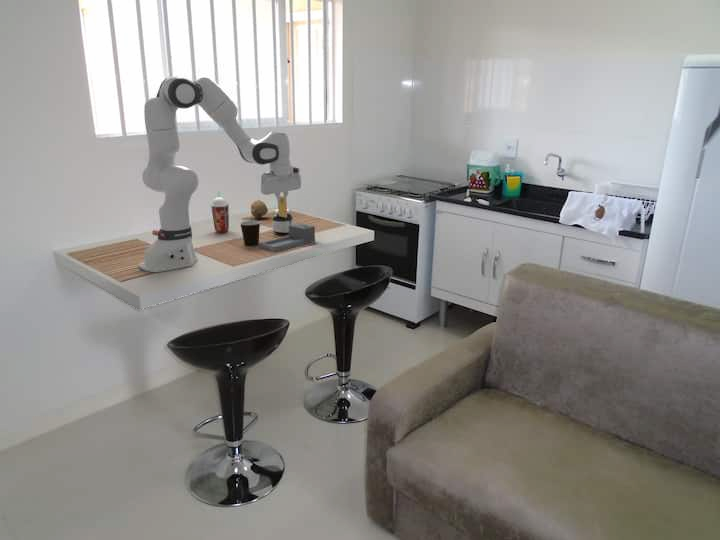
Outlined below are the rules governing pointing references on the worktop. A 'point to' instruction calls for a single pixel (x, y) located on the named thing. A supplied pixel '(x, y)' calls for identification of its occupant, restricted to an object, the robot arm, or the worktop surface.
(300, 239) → the dispenser
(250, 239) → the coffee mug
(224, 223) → the smoothie
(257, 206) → the natural sponge
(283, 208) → the ticket
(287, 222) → the spread jar
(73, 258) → the worktop surface
